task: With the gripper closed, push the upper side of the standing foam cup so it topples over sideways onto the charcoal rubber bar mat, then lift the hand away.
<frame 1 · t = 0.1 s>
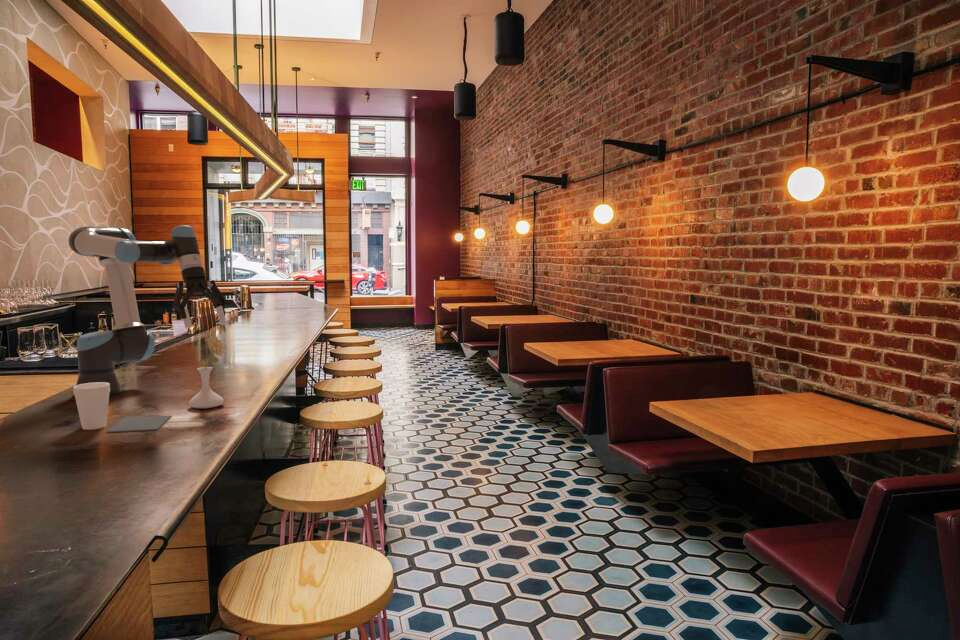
hand: (206, 325, 216), 28 cm above the bar counter, tool tilted 20°, fingers open, 13 cm apart
foam cup: (94, 427, 188), on the bar counter
bar mat: (140, 424, 191), on the bar counter
flower in vase: (208, 407, 214), on the bar counter
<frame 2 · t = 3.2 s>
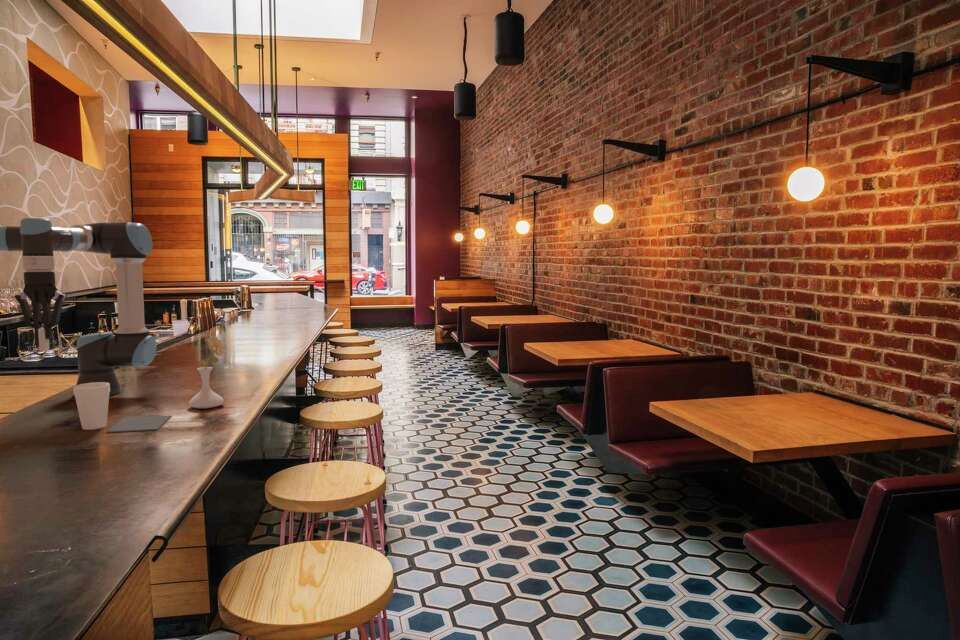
hand: (44, 349, 182), 24 cm above the bar counter, tool pointing down, fingers closed
nothing on the bar counter moved.
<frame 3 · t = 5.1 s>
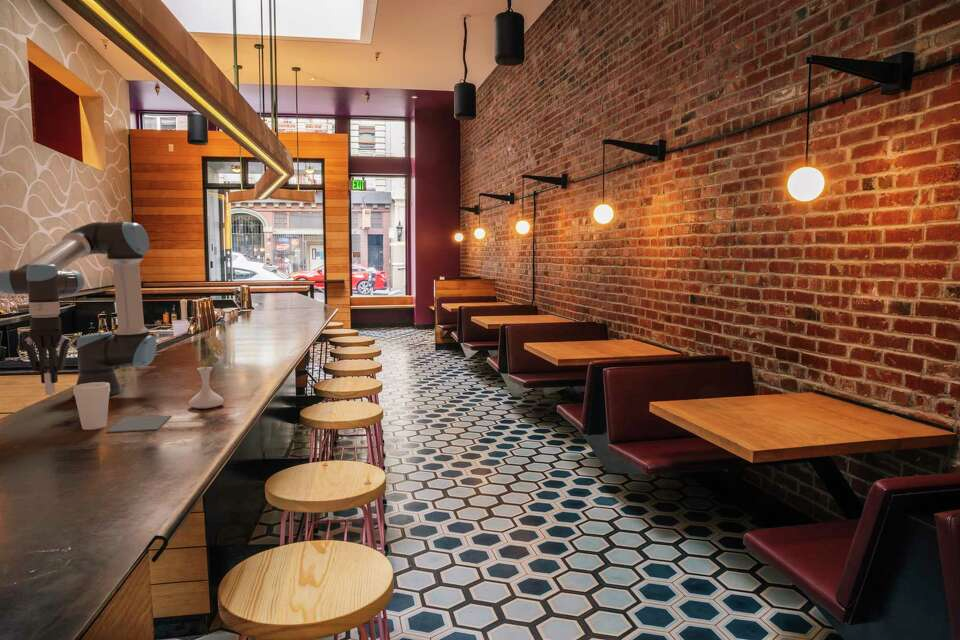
hand: (50, 393, 184), 11 cm above the bar counter, tool pointing down, fingers closed
nothing on the bar counter moved.
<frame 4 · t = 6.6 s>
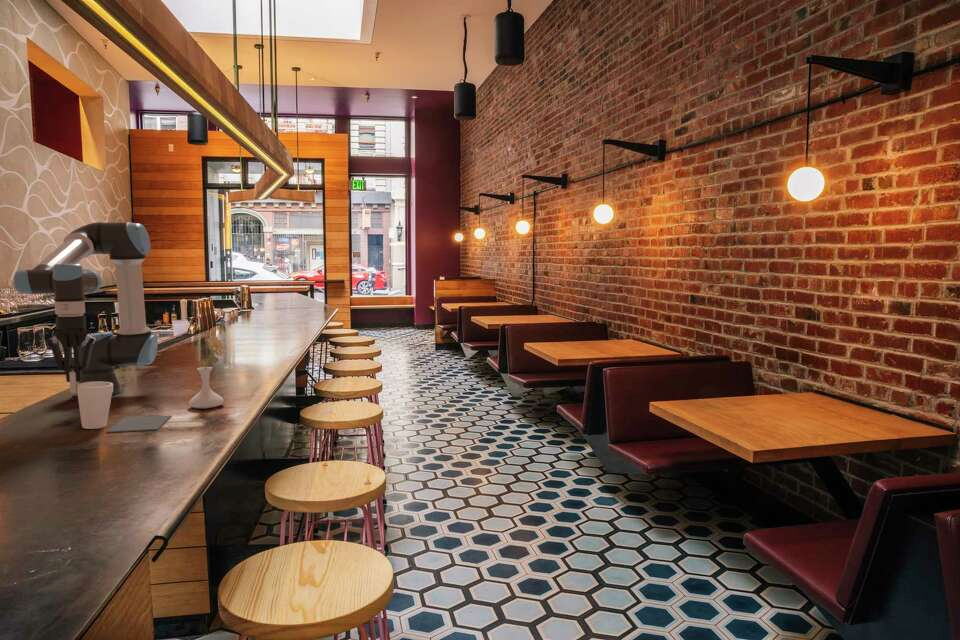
hand: (75, 392, 185), 11 cm above the bar counter, tool pointing down, fingers closed
foam cup: (94, 426, 188), on the bar counter, touching gripper
everything else where it was.
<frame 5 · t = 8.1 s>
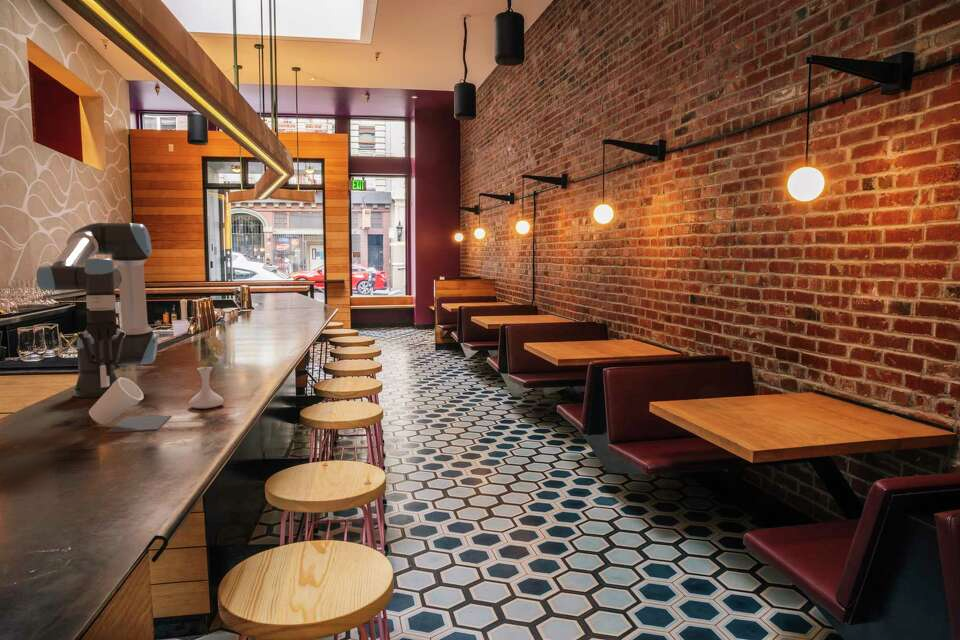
hand: (105, 386, 186), 13 cm above the bar counter, tool pointing down, fingers closed
foam cup: (97, 417, 187), point 3 cm above the bar counter, touching gripper
everything else where it was.
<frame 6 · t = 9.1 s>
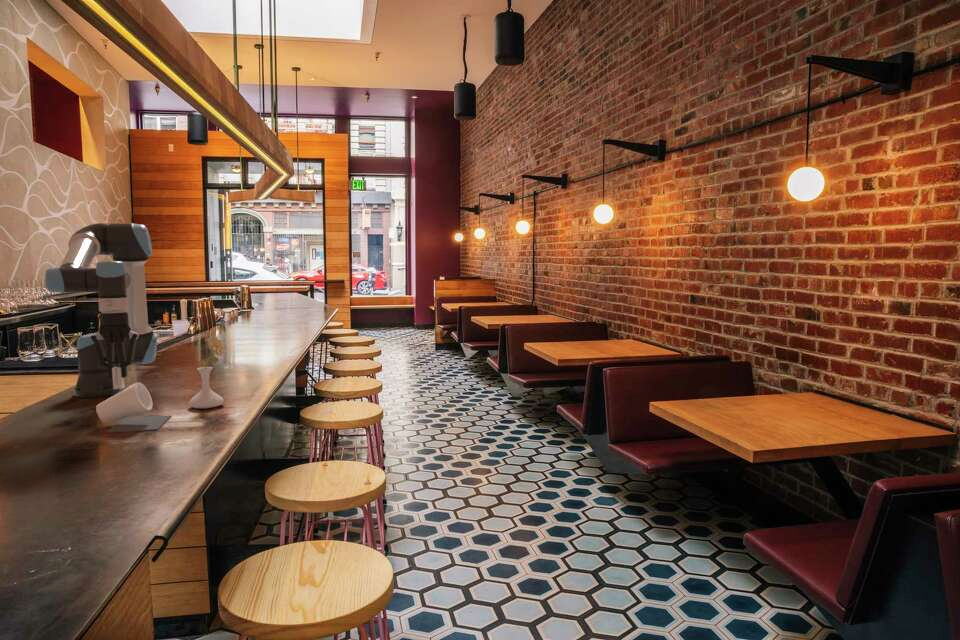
hand: (119, 388, 188), 12 cm above the bar counter, tool pointing down, fingers closed
foam cup: (102, 413, 188), point 4 cm above the bar counter, touching gripper
everything else where it was.
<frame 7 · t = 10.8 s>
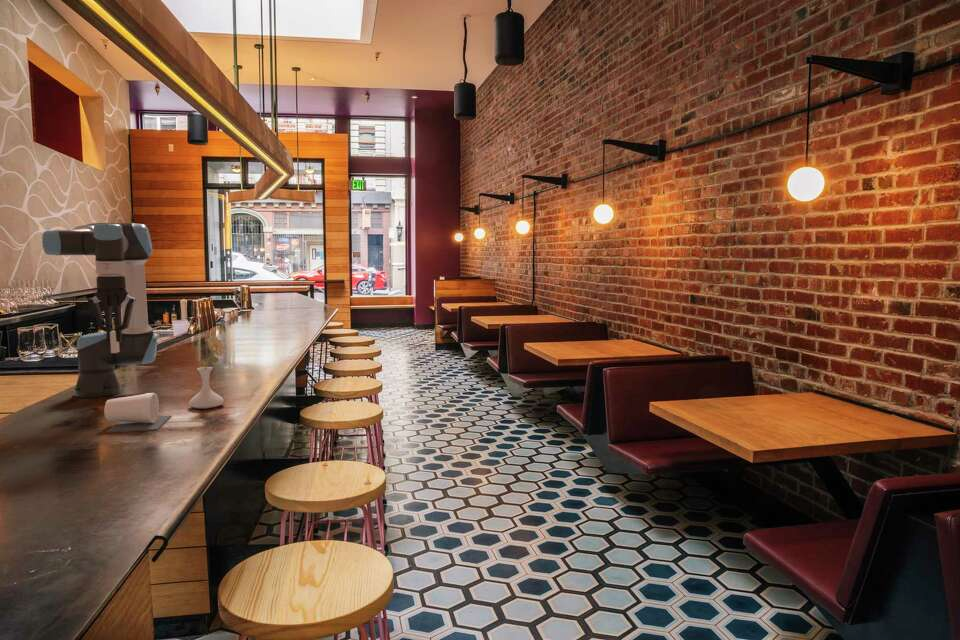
hand: (115, 352, 187), 23 cm above the bar counter, tool pointing down, fingers closed
foam cup: (107, 409, 188), point 5 cm above the bar counter, touching bar mat
everything else where it was.
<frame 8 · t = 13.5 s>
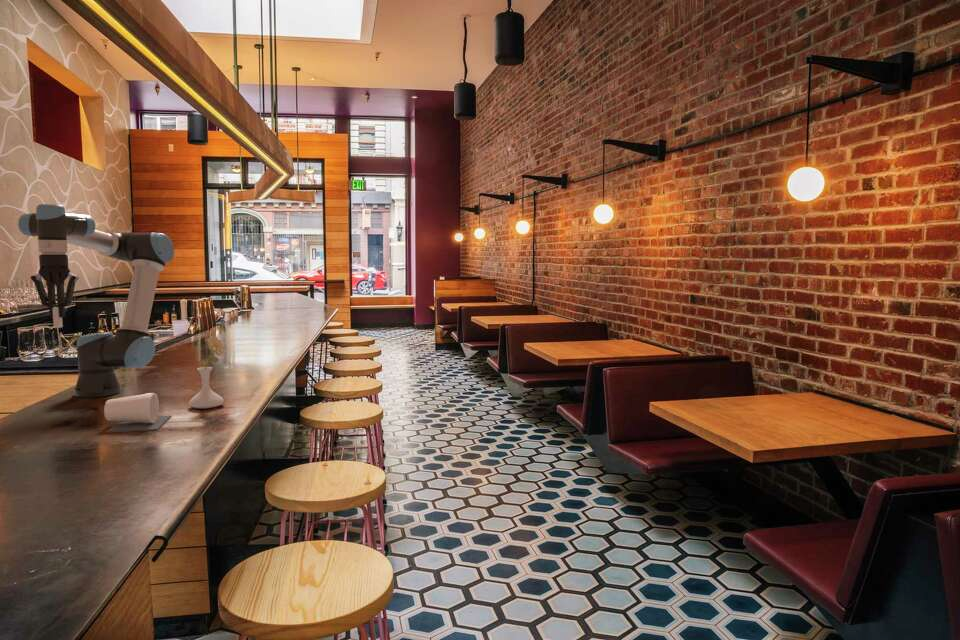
hand: (58, 327, 196), 29 cm above the bar counter, tool pointing down, fingers closed
nothing on the bar counter moved.
at the end: foam cup tilted 90°; foam cup touching bar mat; foam cup inside the target area (2.0 cm from its centre), point 5.0 cm above the bar counter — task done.
